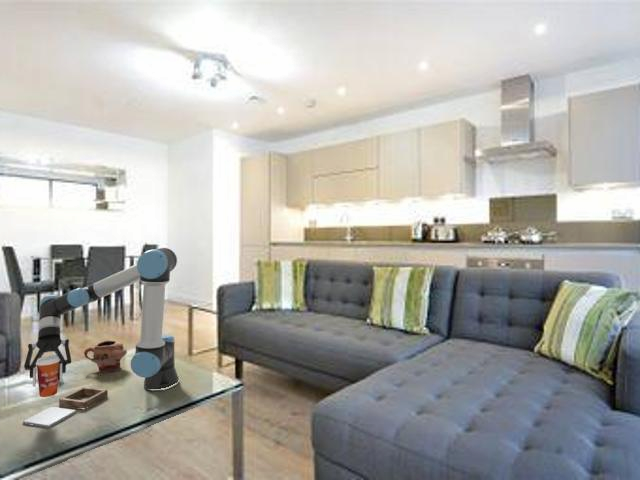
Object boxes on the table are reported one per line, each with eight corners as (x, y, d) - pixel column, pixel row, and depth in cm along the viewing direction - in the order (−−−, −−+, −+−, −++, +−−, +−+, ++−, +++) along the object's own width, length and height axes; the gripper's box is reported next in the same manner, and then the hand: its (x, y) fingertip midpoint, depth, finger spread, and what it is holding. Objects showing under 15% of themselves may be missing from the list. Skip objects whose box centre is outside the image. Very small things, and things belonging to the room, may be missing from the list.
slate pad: (76, 412, 157) (76, 410, 157) (48, 428, 145) (48, 425, 145) (51, 409, 159) (51, 406, 159) (23, 423, 148) (23, 421, 148)
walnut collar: (107, 396, 171) (107, 389, 171) (84, 409, 159) (84, 402, 159) (83, 393, 174) (83, 386, 174) (59, 406, 162) (59, 399, 162)
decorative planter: (80, 376, 193) (79, 348, 192) (87, 367, 205) (86, 340, 204) (124, 372, 199) (124, 344, 198) (129, 363, 211) (128, 337, 210)
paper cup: (41, 400, 147) (41, 363, 146) (32, 395, 151) (31, 359, 150) (64, 392, 153) (64, 357, 152) (54, 387, 157) (54, 353, 157)
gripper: (78, 331, 169) (79, 381, 156) (19, 338, 159) (14, 393, 146) (78, 322, 165) (79, 373, 152) (17, 328, 154) (12, 384, 141)
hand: (47, 382), depth 149 cm, fingers closed on paper cup, 8 cm apart
